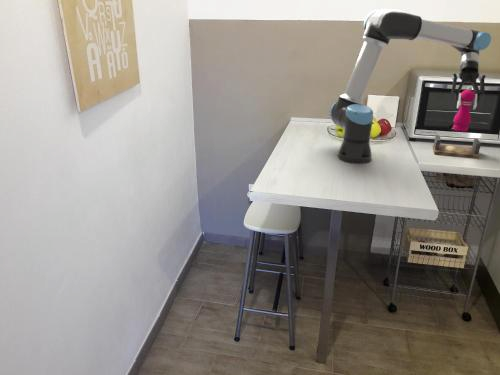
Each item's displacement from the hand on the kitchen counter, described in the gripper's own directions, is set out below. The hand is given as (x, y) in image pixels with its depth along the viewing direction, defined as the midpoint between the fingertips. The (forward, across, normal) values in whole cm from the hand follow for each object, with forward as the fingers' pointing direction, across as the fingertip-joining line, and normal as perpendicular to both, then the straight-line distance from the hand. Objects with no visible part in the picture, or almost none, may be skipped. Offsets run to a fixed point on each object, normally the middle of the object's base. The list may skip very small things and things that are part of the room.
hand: (466, 107), depth 181 cm
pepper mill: (+6, 0, -11) cm, 12 cm away
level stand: (+13, 0, -18) cm, 23 cm away
